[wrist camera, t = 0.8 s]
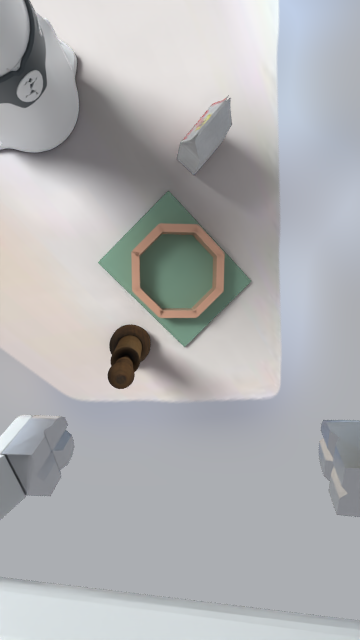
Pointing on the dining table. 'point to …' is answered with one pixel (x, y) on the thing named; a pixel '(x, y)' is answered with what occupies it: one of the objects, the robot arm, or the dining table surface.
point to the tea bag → (205, 136)
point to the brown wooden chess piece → (127, 354)
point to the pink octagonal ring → (206, 243)
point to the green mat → (173, 269)
